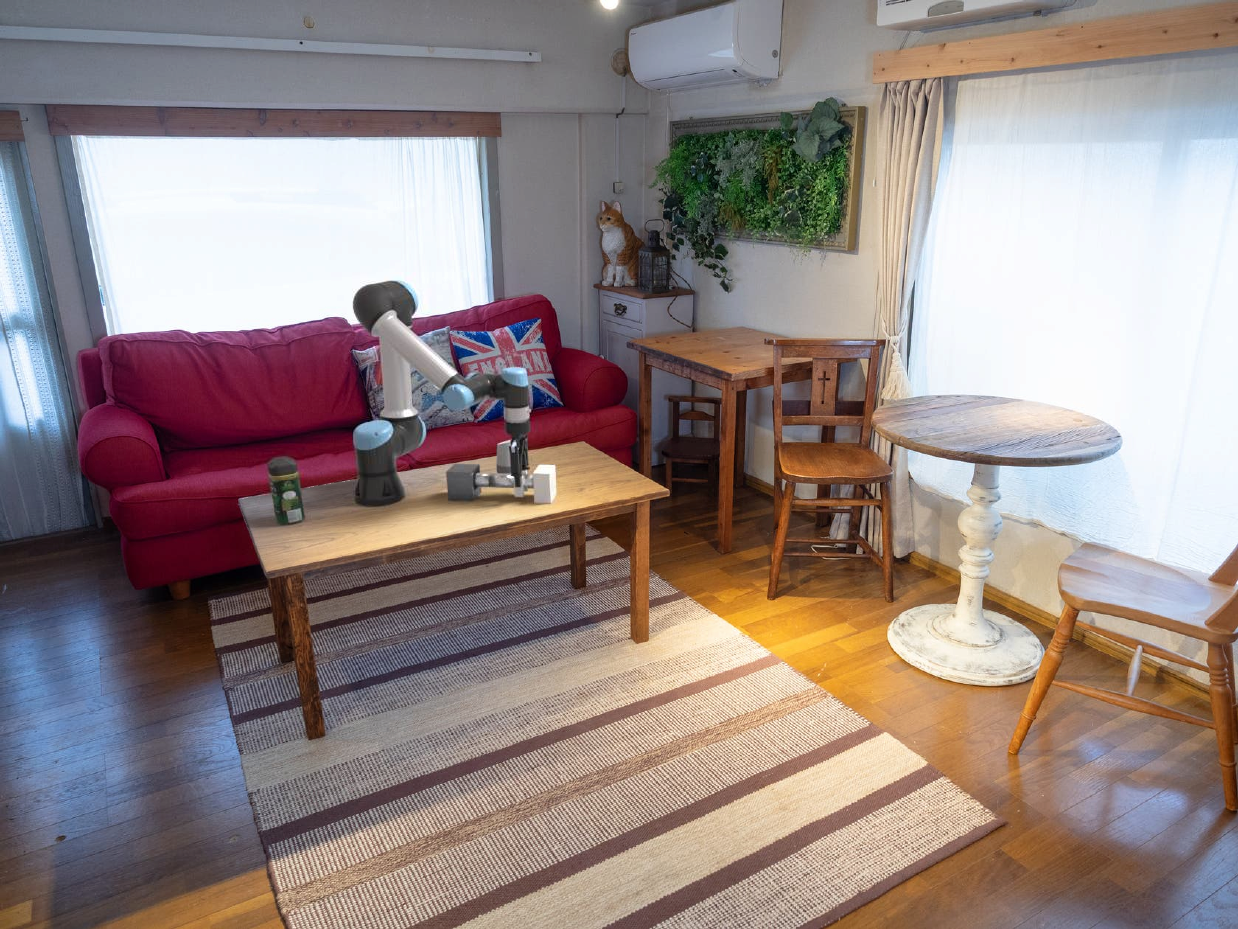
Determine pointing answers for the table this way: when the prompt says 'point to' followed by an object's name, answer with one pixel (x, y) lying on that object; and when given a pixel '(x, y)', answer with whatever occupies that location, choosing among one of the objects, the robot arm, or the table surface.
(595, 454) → the table surface
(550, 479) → the socket block
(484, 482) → the tube
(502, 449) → the smart speaker
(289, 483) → the coffee jar
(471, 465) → the sleeve
